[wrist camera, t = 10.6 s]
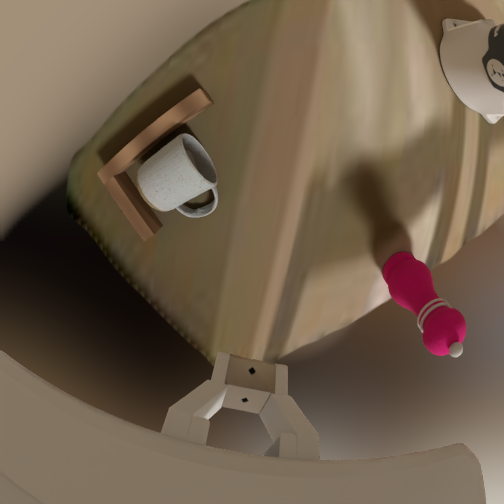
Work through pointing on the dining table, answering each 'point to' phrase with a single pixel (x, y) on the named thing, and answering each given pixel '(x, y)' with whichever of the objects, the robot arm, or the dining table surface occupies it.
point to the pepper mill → (425, 304)
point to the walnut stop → (133, 151)
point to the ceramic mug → (178, 177)
